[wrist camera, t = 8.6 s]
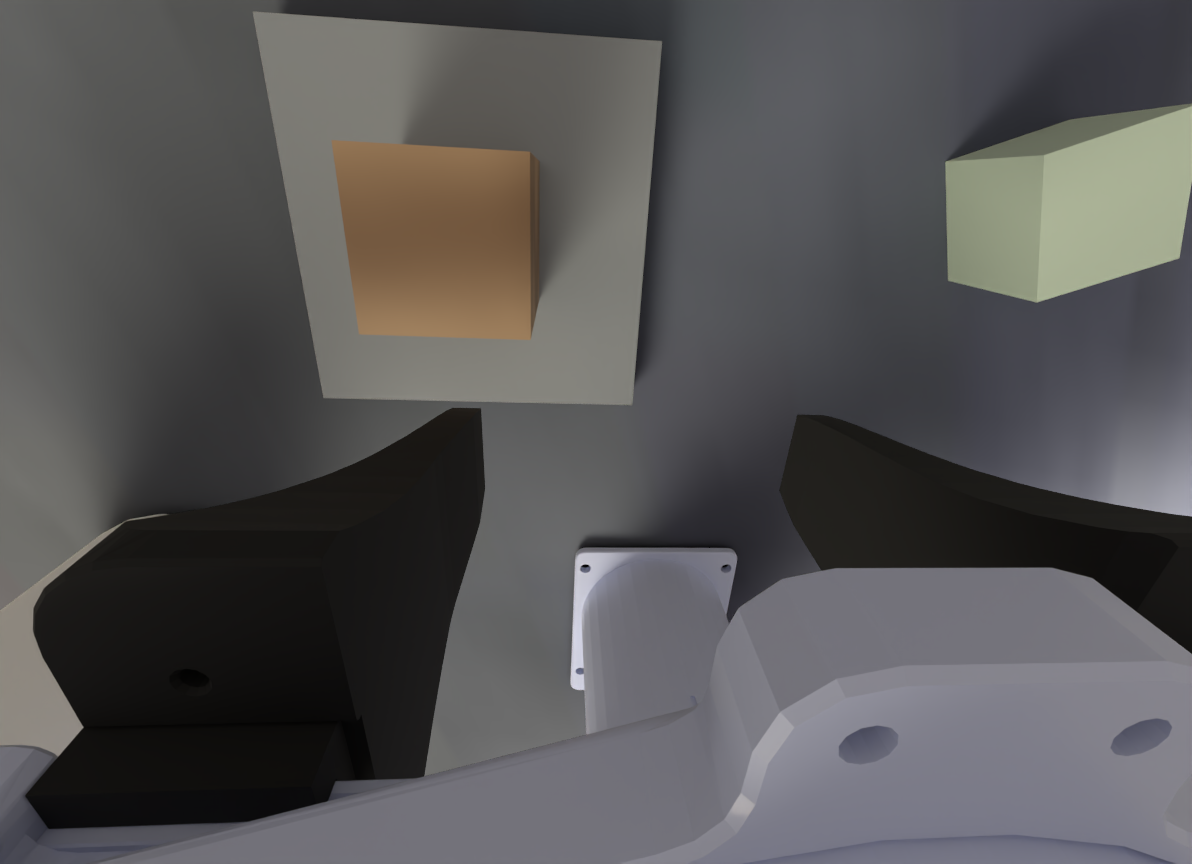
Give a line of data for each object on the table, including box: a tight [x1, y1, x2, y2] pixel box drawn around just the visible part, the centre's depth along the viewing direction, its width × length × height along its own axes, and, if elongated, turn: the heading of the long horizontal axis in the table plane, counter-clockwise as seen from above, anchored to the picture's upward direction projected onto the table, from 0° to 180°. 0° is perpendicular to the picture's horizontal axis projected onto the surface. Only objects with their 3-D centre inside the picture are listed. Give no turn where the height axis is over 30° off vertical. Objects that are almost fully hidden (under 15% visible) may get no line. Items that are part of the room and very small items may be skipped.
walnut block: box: [331, 140, 540, 340], centre depth 16 cm, size 4×4×6 cm
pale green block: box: [945, 104, 1192, 302], centre depth 18 cm, size 4×4×4 cm
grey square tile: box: [253, 12, 662, 405], centre depth 19 cm, size 12×12×2 cm
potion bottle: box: [0, 514, 169, 756], centre depth 17 cm, size 8×8×18 cm
